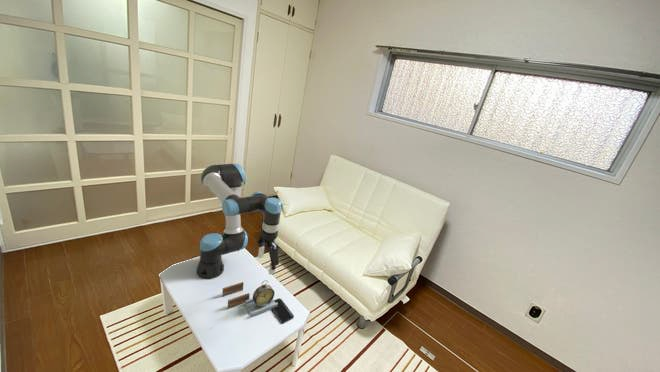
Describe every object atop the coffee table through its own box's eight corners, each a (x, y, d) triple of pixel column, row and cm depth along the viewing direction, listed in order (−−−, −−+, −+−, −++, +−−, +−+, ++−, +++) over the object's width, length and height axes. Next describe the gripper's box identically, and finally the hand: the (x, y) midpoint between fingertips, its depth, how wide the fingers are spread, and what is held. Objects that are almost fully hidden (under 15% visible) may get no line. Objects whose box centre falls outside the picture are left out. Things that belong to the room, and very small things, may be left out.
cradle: (245, 304, 142) (245, 300, 141) (270, 295, 151) (270, 291, 150) (251, 317, 135) (252, 313, 135) (277, 307, 144) (277, 303, 143)
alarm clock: (254, 311, 138) (257, 287, 133) (250, 303, 142) (252, 280, 136) (273, 303, 145) (276, 280, 139) (269, 297, 149) (272, 274, 143)
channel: (222, 295, 145) (222, 288, 143) (242, 288, 152) (242, 281, 150) (228, 308, 138) (228, 301, 136) (249, 301, 144) (249, 294, 142)
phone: (280, 297, 150) (294, 316, 140) (279, 299, 150) (294, 318, 140) (267, 303, 145) (281, 323, 135) (267, 304, 145) (281, 324, 135)
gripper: (252, 217, 133) (249, 252, 141) (274, 245, 115) (269, 283, 123) (266, 215, 137) (263, 249, 145) (289, 241, 120) (283, 278, 127)
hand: (265, 265), depth 134 cm, fingers open, 13 cm apart
